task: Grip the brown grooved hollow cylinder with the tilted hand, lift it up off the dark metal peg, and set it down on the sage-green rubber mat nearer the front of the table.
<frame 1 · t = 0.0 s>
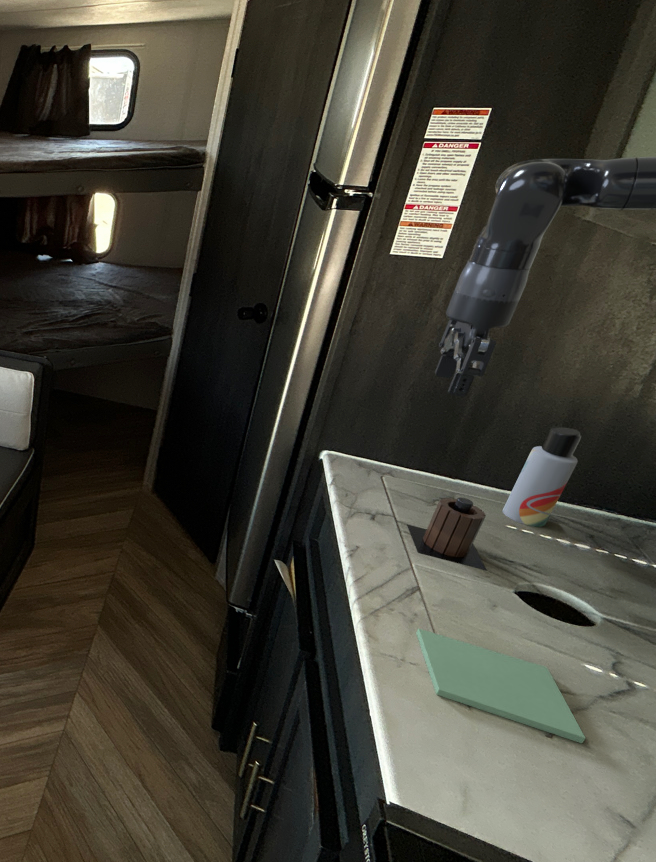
hand: (449, 385, 105), 29 cm above the counter, tool pointing down, fingers open, 8 cm apart
peg stand: (441, 553, 110), on the counter
brown grooved hollow cylinder: (444, 546, 109), point 1 cm above the counter, touching peg stand
mat: (491, 683, 85), on the counter
lotion bottle: (519, 524, 118), on the counter
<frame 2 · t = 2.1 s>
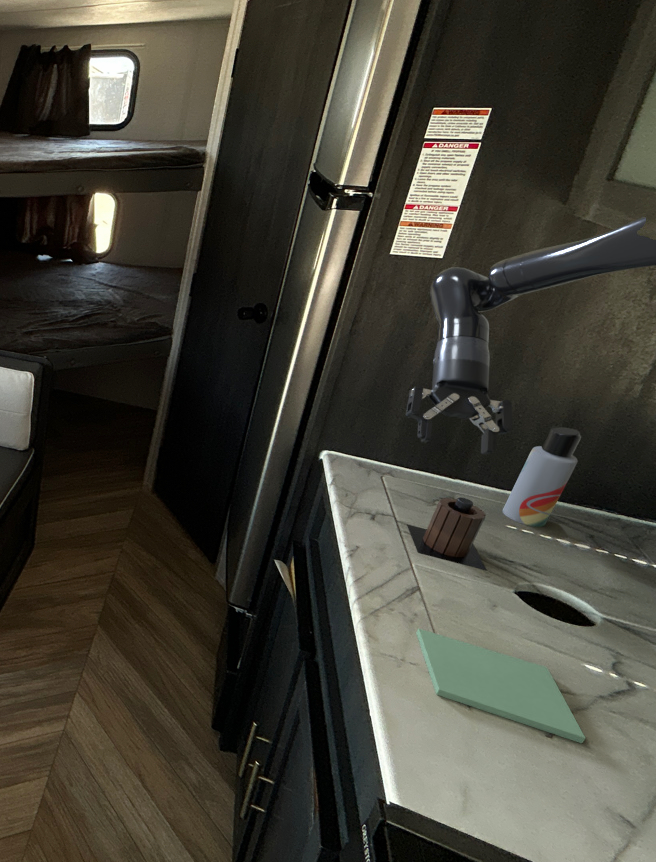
hand: (455, 447, 113), 16 cm above the counter, tool tilted 45°, fingers open, 8 cm apart
nothing on the counter moved.
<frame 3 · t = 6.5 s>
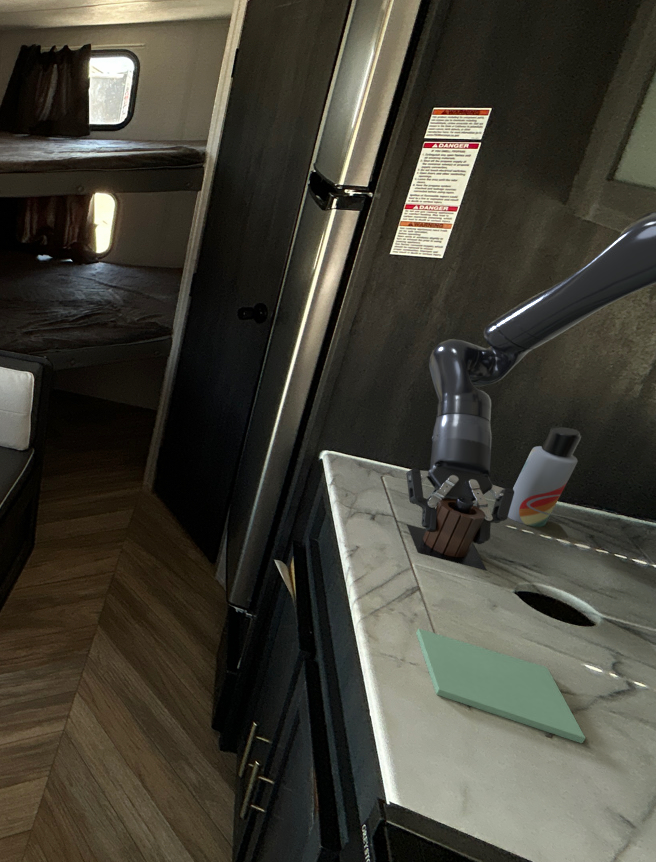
hand: (454, 536, 107), 5 cm above the counter, tool tilted 45°, fingers closed on brown grooved hollow cylinder, 5 cm apart
brown grooved hollow cylinder: (444, 546, 109), point 2 cm above the counter, touching gripper, peg stand
everything else where it was.
when the fingers open (4 cm above the counter, at t = 19.1 s): brown grooved hollow cylinder stays where it is, resting on mat.
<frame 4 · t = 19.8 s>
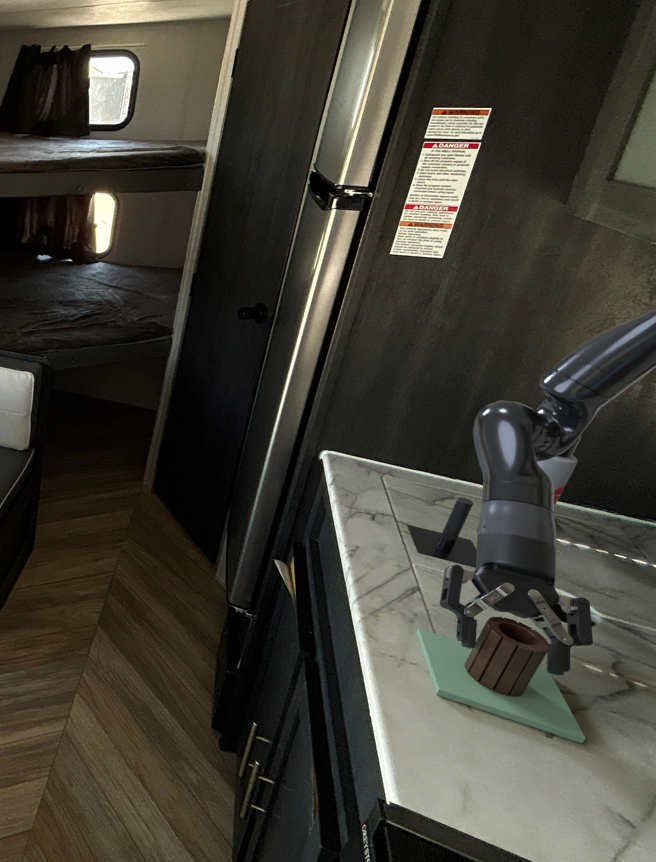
hand: (511, 660, 82), 5 cm above the counter, tool tilted 45°, fingers open, 8 cm apart
brown grooved hollow cylinder: (493, 677, 85), point 1 cm above the counter, touching mat
everything else where it was.
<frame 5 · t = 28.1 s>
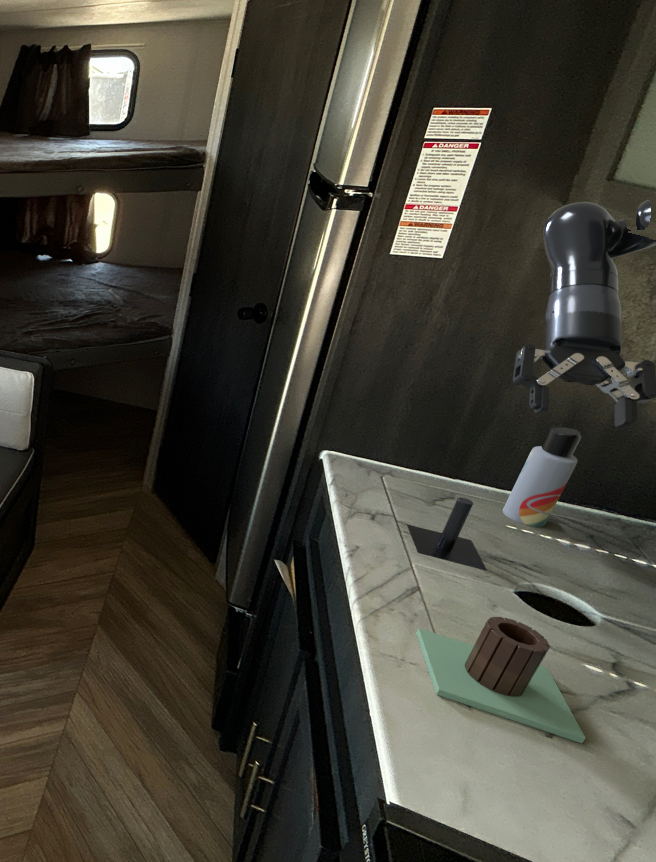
hand: (581, 418, 91), 31 cm above the counter, tool tilted 45°, fingers open, 8 cm apart
nothing on the counter moved.
at the end: brown grooved hollow cylinder inside the target area on the mat (0.1 cm from its centre), point 1.0 cm above the mat's base; brown grooved hollow cylinder tilted 0°; the gripper is holding nothing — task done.
